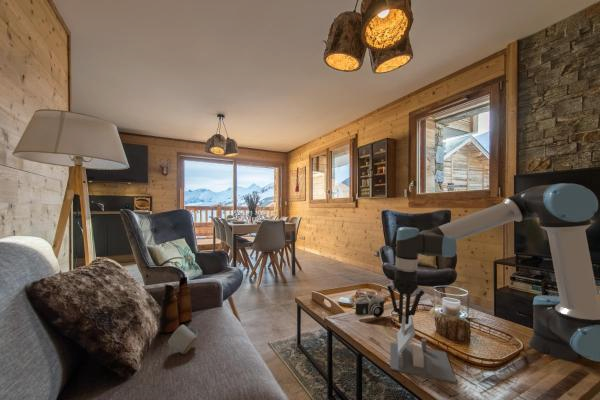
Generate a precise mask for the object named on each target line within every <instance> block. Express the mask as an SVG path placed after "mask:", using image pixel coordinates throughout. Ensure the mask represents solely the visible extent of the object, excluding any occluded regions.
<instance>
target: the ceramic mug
mask: <svg viewBox="0 0 600 400" xmlns="http://www.w3.org/2000/svg"><path fill="white" fill-rule="evenodd" d="M197 337H198V330H197V329H196V328H194V327H193V326H186V325H185V324H181V325H179V328H178V329H176V330H174V331H173V333H172V335H171V336H170V337H169V338H168V340H167V343H168V344H169V345H170V346H171V347H172V348H174V349H175V350H177V351H178V352H179V353H180V354H183V355H186V354H187V353H188V352H189V351H190V350H191V349H192V347H193V346H194V345H195V343H196V342H197V340H198V339H197Z"/></svg>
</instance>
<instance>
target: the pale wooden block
mask: <svg viewBox="0 0 600 400" xmlns="http://www.w3.org/2000/svg"><path fill="white" fill-rule="evenodd" d="M410 346H411V354H412V361H413V366H417V367H422V368H424V356H423V352H422V343H415V342H411V343H410Z"/></svg>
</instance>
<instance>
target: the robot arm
mask: <svg viewBox="0 0 600 400" xmlns="http://www.w3.org/2000/svg"><path fill="white" fill-rule="evenodd" d="M598 209H599V201H598V198H597V196H596V194H595V193H594V192H593V191H592V190H591V189H589V188H587V187H586V186H584V185H582V184H576V183H567V182H566V183H565V182H564V183H561V182H560V183H555V184H542V185H536V186H532V187H530V188H528V189H526V190H523V191H520V192H518V193H516V194H513V195H511V196H509V197H506V198H504V199H503V200H502V202H501V203H498V204H495V205H493V206H490V207H487V208H484V209H482V210H480V211H476V212H474V213H471V214H467V215H466V216H464V217H461V218H458V219H455V220H452V221H450V222H447V223H444V224H441V225H440V226H437V227H435V228H431V229H425V230H424V229H423V230H422V231H421V232H420V229H419V228H418V227H410V226H409V227H408V226H401V227H399V228H398V229H397V233H396V244H395V245H396V248H395V250H396V251H395V269H394V270H395V271H394V279H393V281H392V283H390V284H389V283H388V284H387V286H386V287H387V290H388V291H389V294H390V298H391V302H392V307H393V312H394V313H397V314H398V324H401V325H400V328H401V333H403V334H405V324H408V323H409V316H410V315H411V316H415V314H416V312H417V309H418V306H419V303H420V300H421V298H422V297H423V295H424V294H425V291H424V289H423V288H421V287H419V285H418V283H417V282H418V281H417V280H418V271H417V270H418V264H419V263H418V262H419V261H418V260H419V257H418V256H419V255H422V256H423V255H424V256H433V257H443V258H454V257H455V255H456V254H457V246H458V245H457V242H458V241H460V240H463V239H465V238H469V237H471V236H473V235H477V234H480V233H482V232H485V231H489V230H491V229H493V228H495V227H496V228H497V227H499V226H502V225H506V224H507V223H511V222H513V221H515V222H522V221H525V220H531V219H538V222H539V223H538V224H539V227H540V228H541V229H543V230H545V231H546V232H547V233H546V234H547V237H548V243H549V249H550V254H551V259H552V265H553V270H554V275H555V276H554V277H555V280H556V286H557V287H556V288H557V292H558V296H554V295H553V296H552V295H546V294H545V295H543V294H541V295H535V296H534V297H533V302H532V307H533V308H532V311H533V312H532V313H533V314H532V316H533V318H532V319H533V321H532V323H533V325H532V327H533V328H532V329H533V330H532V332H533V333H532V335H531V337H530V339H529V341H528V345H529V346H530V348H531V349H533V350H535V351H536V352H538V353H541V354H547V355H548V356H550V357H552V358H553V359H559V360H564V361H574V362H575V361H579V359H580V358H586V359H588V360H590V361H594V362H600V302H599V301H600V300H599V296H598V291H597V286H596V280H595V279H596V278H595V275H594V269H593V264H592V259H591V254H590V253H591V252H590V249H589V243H588V238H587V233H586V230H587V229H588V228H589V227H590V226H592V220H591V218H592V217H594V216H595V213H597V211H598ZM395 289H396V291H397V293H399V294H398V295H399V298H398V305H397V300H396V296H395V292H394V290H395ZM415 291H416V294H415V297H414V300H413V302H412V306H411V295H412V294H413V293H414V292H415ZM404 295H405V296H406V297H405V309H404V310H405V312H403V311H404V310H403V307H404ZM410 308H411V309H410Z"/></svg>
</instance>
